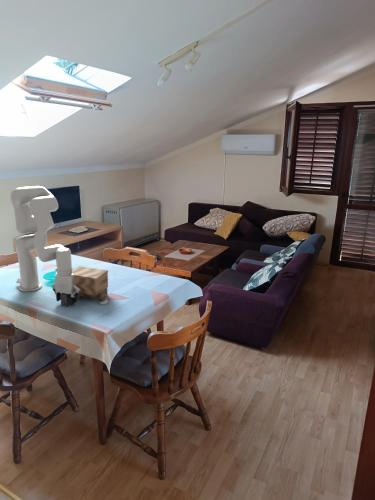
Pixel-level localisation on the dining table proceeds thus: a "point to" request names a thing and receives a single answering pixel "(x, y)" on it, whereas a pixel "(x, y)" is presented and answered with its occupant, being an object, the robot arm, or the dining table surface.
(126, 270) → the dining table surface
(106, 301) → the disc
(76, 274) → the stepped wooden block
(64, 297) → the grey mallet
